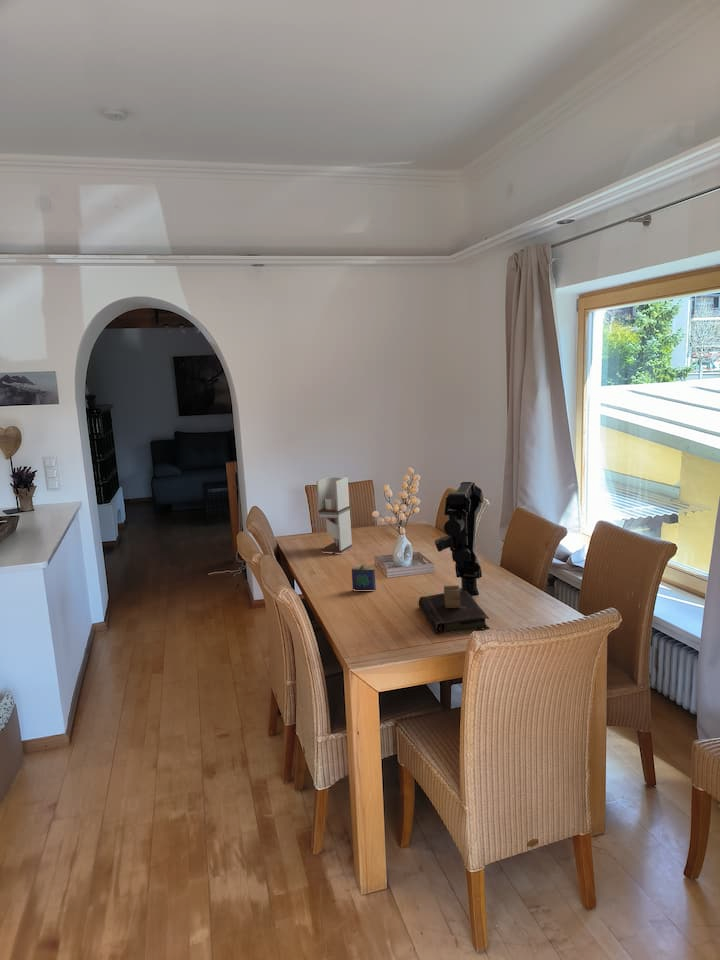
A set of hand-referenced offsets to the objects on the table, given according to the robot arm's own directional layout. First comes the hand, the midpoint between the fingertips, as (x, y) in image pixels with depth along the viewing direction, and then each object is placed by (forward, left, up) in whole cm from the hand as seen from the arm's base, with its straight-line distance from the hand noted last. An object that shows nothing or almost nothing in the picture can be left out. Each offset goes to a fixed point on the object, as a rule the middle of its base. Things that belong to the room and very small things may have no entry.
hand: (460, 572), depth 223 cm
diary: (+10, -4, -13) cm, 17 cm away
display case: (-78, -53, -13) cm, 95 cm away
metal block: (+10, -4, -8) cm, 14 cm away
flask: (-20, -36, -13) cm, 43 cm away
